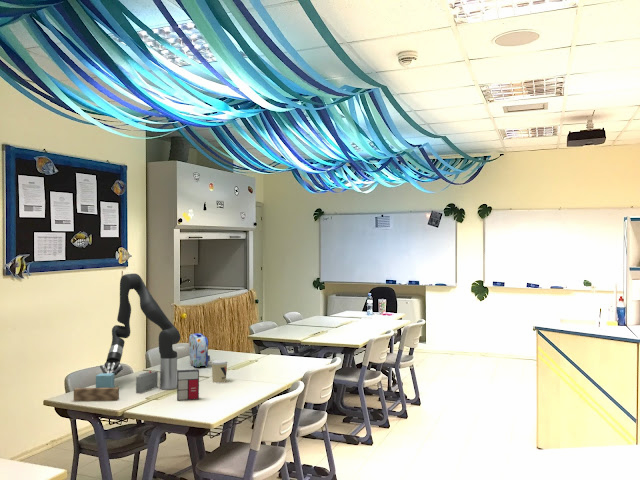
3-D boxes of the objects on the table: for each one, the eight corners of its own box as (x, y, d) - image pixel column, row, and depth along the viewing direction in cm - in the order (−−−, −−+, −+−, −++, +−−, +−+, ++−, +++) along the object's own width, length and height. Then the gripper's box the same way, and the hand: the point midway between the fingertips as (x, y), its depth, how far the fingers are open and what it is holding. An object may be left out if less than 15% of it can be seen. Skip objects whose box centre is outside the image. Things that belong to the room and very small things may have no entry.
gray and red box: (177, 401, 282) (177, 372, 282) (177, 398, 286) (177, 370, 286) (198, 399, 285) (199, 370, 285) (198, 397, 289) (198, 369, 289)
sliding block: (114, 389, 300) (114, 373, 300) (110, 392, 294) (111, 375, 294) (99, 389, 300) (99, 373, 300) (95, 392, 294) (95, 375, 294)
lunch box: (211, 368, 361) (211, 335, 362) (195, 369, 357) (195, 336, 357) (201, 360, 386) (202, 329, 387) (187, 362, 382) (187, 330, 382)
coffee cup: (223, 383, 320) (223, 363, 320) (208, 382, 322) (208, 362, 322) (229, 380, 329) (229, 360, 329) (214, 379, 331) (215, 359, 331)
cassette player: (153, 386, 312) (153, 369, 312) (157, 387, 311) (157, 369, 312) (136, 393, 297) (136, 374, 298) (140, 393, 297) (140, 375, 297)
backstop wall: (128, 390, 304) (128, 379, 304) (117, 400, 282) (117, 388, 282) (88, 390, 302) (88, 379, 302) (73, 401, 281) (73, 389, 281)
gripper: (101, 351, 311) (94, 377, 299) (125, 350, 312) (118, 377, 300) (104, 358, 316) (97, 385, 304) (127, 358, 317) (121, 384, 305)
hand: (108, 381), depth 302 cm, fingers closed
